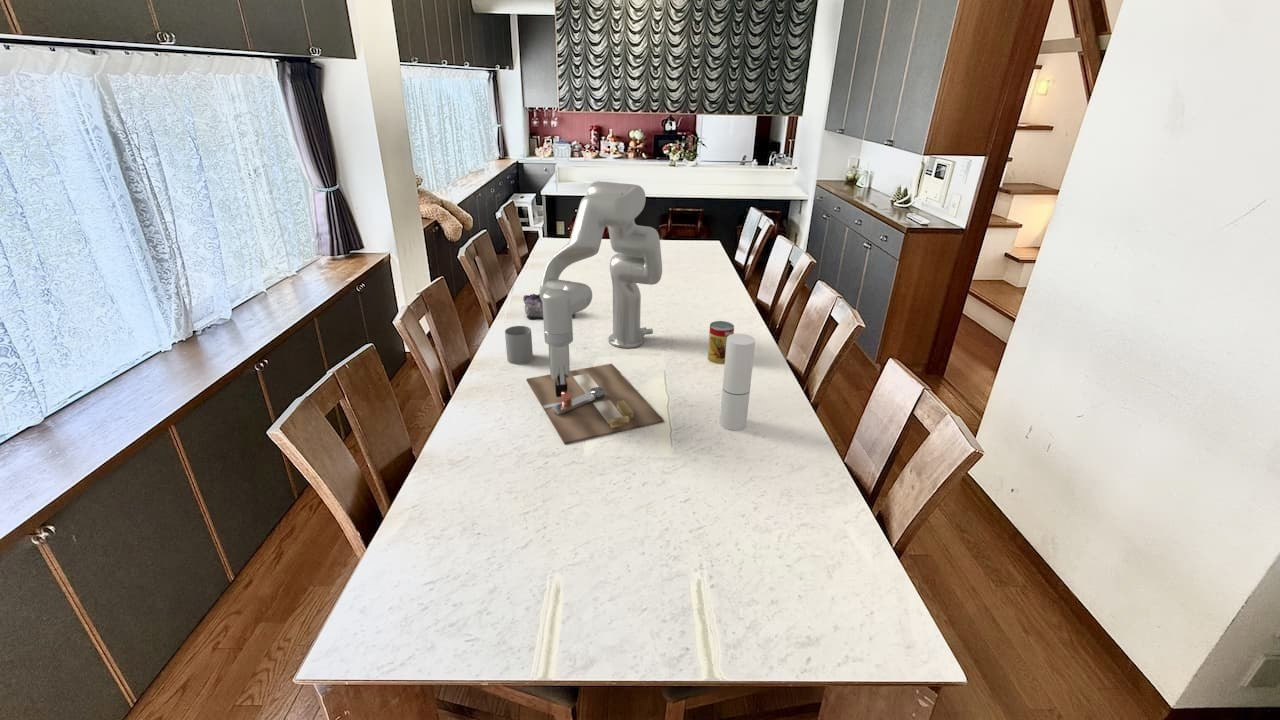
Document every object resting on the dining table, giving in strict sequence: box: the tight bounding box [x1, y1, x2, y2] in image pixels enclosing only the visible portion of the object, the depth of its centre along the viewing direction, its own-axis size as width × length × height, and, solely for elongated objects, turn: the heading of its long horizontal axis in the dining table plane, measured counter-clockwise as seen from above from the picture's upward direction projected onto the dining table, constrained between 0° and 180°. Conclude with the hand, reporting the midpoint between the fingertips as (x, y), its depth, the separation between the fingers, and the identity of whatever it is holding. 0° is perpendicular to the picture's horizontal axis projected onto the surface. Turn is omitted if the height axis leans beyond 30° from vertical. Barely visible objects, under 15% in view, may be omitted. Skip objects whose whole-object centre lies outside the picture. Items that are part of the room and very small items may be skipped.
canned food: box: [707, 320, 735, 365], centre depth 197 cm, size 8×8×12 cm
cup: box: [504, 325, 534, 365], centre depth 195 cm, size 8×8×10 cm
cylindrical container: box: [719, 333, 756, 431], centre depth 157 cm, size 7×7×25 cm
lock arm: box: [552, 387, 604, 415], centre depth 168 cm, size 17×4×5 cm, turn 134°
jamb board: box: [526, 363, 664, 445], centre depth 172 cm, size 28×38×3 cm
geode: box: [522, 293, 576, 319], centre depth 231 cm, size 20×12×10 cm, turn 90°
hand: (561, 395), depth 168 cm, fingers closed
